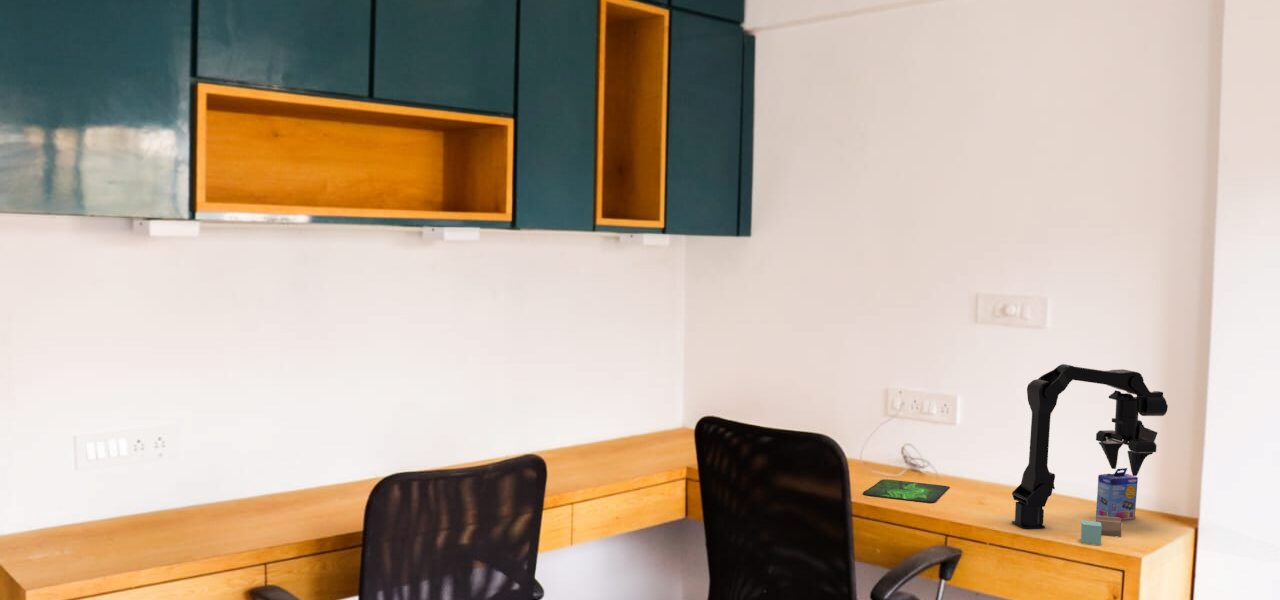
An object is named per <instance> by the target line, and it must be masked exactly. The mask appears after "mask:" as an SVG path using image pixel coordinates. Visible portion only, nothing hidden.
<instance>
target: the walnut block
mask: <svg viewBox="0 0 1280 600" xmlns="http://www.w3.org/2000/svg"><path fill="white" fill-rule="evenodd" d="M1095 522H1101V526H1102V527H1101V536H1107V537H1115V536H1118V537H1117V538H1121V537H1122V520H1121V519H1120V518H1119V517H1109V516H1099V515H1096V514H1095Z"/></svg>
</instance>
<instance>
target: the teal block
mask: <svg viewBox="0 0 1280 600" xmlns="http://www.w3.org/2000/svg"><path fill="white" fill-rule="evenodd" d="M1101 527H1102V526H1101V522H1096V521H1092V520H1085V519H1084V520H1083V519H1082V520H1081V528H1080V529H1081V530H1080V543H1081V544H1083V543H1088V544H1087V545H1092V544H1096V545H1095V546H1101V545H1102V535H1101Z"/></svg>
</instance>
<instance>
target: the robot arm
mask: <svg viewBox="0 0 1280 600" xmlns="http://www.w3.org/2000/svg"><path fill="white" fill-rule="evenodd" d="M1073 381H1078V382H1084V383H1085V382H1086V383H1092V384H1093V383H1094V384H1100V385H1106V386H1108V387H1111V388H1114V389H1117V390H1114V391H1113V393H1111V394H1109V395H1108V399H1110V400H1115V417H1112V418H1111V422H1112V423H1114V429H1113V430H1111V429H1109V430H1098V431H1097V432H1096V434H1095V441H1098V444H1099V445H1100V447H1101V449H1102V451H1103V453H1104V454H1105V457H1106V459H1107V461H1108V463H1109V466H1110V468H1111V469H1112V470H1115V469H1116V470H1117V464H1118V458H1119V451H1120V449H1121V447H1122V446H1123V445H1125V446H1127V447H1128V450H1127V456H1128V461H1129V466H1130V471H1131V473H1132V474H1131V475H1133V476H1136V477H1138V474H1139V472H1140V470H1141V467H1142V465H1143V464H1144V460H1145V459H1146V458H1147V457H1149V456H1150V455H1153V454H1154V453H1157V443H1155V442H1156V441H1155V440H1156V438H1157V435H1158V431H1155V430H1152V429H1150V428H1147V427H1145V425H1144V424H1143V422H1142V420H1140V419H1139V415H1140V416H1142V417H1163V416H1165V415H1166V414H1167V412H1168V404H1167V400H1166V398H1165V397H1164V391H1158V390H1157V391H1156V390H1153V391H1150V389H1149V388H1148V387H1147V385H1146V384H1145V382H1144V381H1145V380H1144V377H1143V376H1142V374H1141V373H1140V372H1138V371H1133V370H1128V369H1110V370H1100V369H1094V368H1086V367H1081V366H1075V365H1071V364H1065V363H1061V364H1060V365H1057V366H1056V367H1055V368H1054V369H1052V370H1050V371H1049V372H1047V373H1045V374H1042V375H1041V376H1040V377H1038V378H1037V379H1033V380H1031V382H1029V383H1028V384H1027V387H1026V394H1027V402H1028V405H1029V408H1030V410H1031V420H1030V421H1031V422H1030V423H1031V424H1030V436H1029V437H1030V441H1029V454H1028V455H1029V457H1028V464H1027V466H1026V468H1025V469H1024V471H1023V474H1022V478H1021V482H1020V484H1019V485H1018V486H1017V487H1016V488H1015V489H1014V490H1013V491H1012V492H1011V495H1012V497H1013V500H1015V501H1016V502H1015V509H1014V510H1015V511H1014V512H1015V513H1014V515H1015V516H1014V520H1012V521H1011V524H1014V525H1016V526H1017V527H1019V528H1022V529H1044V528H1046V526H1045V525H1044V515H1045V513H1044V511H1045V510H1044V508H1045V507H1046V504H1047V502H1048V499H1049V497H1050V496H1052V493H1053V490H1055V478H1056V474H1055V473H1052V472H1050V470H1049V467H1048V461H1049V460H1048V459H1049V444H1050V429H1051V417H1052V413H1053V411H1054V410H1055V407H1056V406H1057V403H1058V399H1059V395H1060V394H1062V393H1063V392H1064V391H1065V390H1066V388H1067V387H1069V384H1070V383H1071V382H1073ZM1121 391H1124V392H1126V393H1124V392H1123V393H1122V392H1121ZM1134 395H1136V396H1134Z"/></svg>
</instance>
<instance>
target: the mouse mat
mask: <svg viewBox="0 0 1280 600" xmlns="http://www.w3.org/2000/svg"><path fill="white" fill-rule="evenodd" d="M949 489H951V487H950V486H948V485H944V484H943V485H941V484H933V483H926V482H925V483H923V482H914V481H907V480H898V479H897V480H896V479H888V478H887V479H885V478H884V479H880V480H879V481H878V482H876V483H875V484H874V485H872V486H871V487H869V488H867V489H866V490H864V491H862V494H863V495H864V496H866V497H876V498H884V499H892V500H901V501H911V502H919V503H926V504H927V503H928V504H929V503H931V504H932V503H936V502H937V501H938V500H939V499H940V498H941V497H942V496H943V495H945V493H946V492H948V490H949Z"/></svg>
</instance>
